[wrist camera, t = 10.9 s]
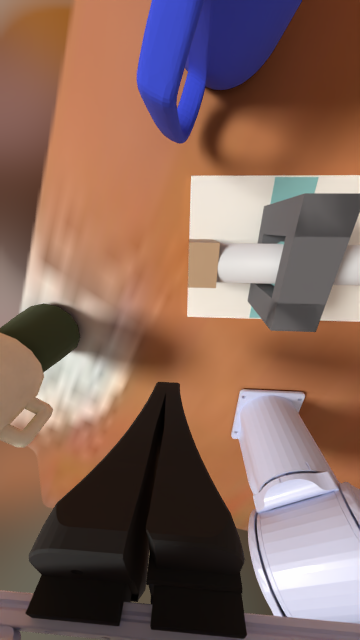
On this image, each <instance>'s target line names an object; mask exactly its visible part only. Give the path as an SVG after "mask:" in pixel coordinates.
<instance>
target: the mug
mask: <svg viewBox="0 0 360 640" xmlns="http://www.w3.org/2000/svg"><path fill="white" fill-rule="evenodd" d="M301 2H302V0H152V3H151V7H150V11H149V16H148V20H147V24H146V28H145V33H144V38H143V43H142V48H141V53H140V58H139V64H138V71H137V85H138V89H139V92H140V94H141V97H142V99H143V101H144V103H145V105H146V107H147V109H148V111H149V113H150V115H151V117H152V119H153V120H154V122H155V124H156V125H157V127H158V128H159V130H160V131H161V132H162V133H163V134H164V135H165V136H166V137H167V138H169V139H170V140H172V141H174V142H176V143H184V142H185V141H186V140H187V139H188V137H189V135H190V133H191V131H192V128H193V126H194V123H195V121H196V118H197V115H198V112H199V109H200V105H201V102H202V99H203V95H204V91H205V87H208V88H211V89H215V90H226V89H230V88H234V87H236V86H238V85H240V84H242V83H243V82H245V81H246V80H248V79H249V78H250V77H252V76H253V75H254V74H255V73H256V72H257V71H258V70H259V69H260V68H261V66H262V65H263V64H264V63H265V62H266V60H267V59H268V58H269V56H270V55H271V53H272V52H273V50H274V49H275V47H276V45H277V44H278V42H279V40H280V38H281V37H282V35H283V33H284V32H285V30H286V28H287V26H288V25H289V23H290V21H291V19H292V17H293V16H294V14H295V12H296V10H297V9H298V7H299V5H300V3H301ZM184 68H185V69H186V70H187V71H188V74H187V79H186V82H185V86H184V89H183V93H182V96H181V99H180V102H179V106H178V108H177V106H176V101H177V94H178V90H179V86H180V82H181V79H182V75H183V71H184Z"/></svg>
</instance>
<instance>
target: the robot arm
mask: <svg viewBox="0 0 360 640" xmlns="http://www.w3.org/2000/svg"><path fill="white" fill-rule="evenodd" d="M304 398H305V395H304V393H303V392H293V391H271V390H248V389H243V390H241V391H240V393H239V398H238V403H237V408H236V413H235V418H234V423H233V428H232V433H231V435H232V438H234V439H239V442H240V446H241V451H242V455H243V459H244V464H245V468H246V472H247V477H248V481H249V484H250V487H251V490H252V492H253V494H254V495H253V499H254V503H255V507H256V509H254V510H253V511H252V512H251V514H250V518H249V528H248V540H249V548H250V554H251V559H252V563H253V567H254V570H255V574H256V577H257V580H258V582H259V585H260V588H261V590H262V593H263V595H264V597H265V599H266V601H267V603H268V605H269V606H270V608H271V610H272V612H273V614H274V616H270V615H260V614H249V613H244V610H243V602H242V595H241V593H242V583H241V577H240V571H241V568H242V566H243V564H244V553H243V549H242V545H241V542H240V538H239V535H238V532H237V530H236V527H235V524H234V521H233V519H232V516H231V513H230V512H229V510H228V508H227V506H226V505H225V503H224V501H223V500H222V498H221V496H220V494H219V492H218V491H217V489H216V487H215V485H214V483H213V481H212V479H211V478H210V475H209V473H208V471H207V469H206V467H205V465H204V463H203V461H202V459H201V457H200V455H199V452H198V450H197V448H196V445H195V443H194V440H193V438H192V435H191V432H190V430H189V427H188V424H187V421H186V417H185V414H184V410H183V406H182V402H181V396H180V384H179V383H169V382H158V383H156V386H155V388H154V390H153V392H152V394H151V396H150V397H149V399H148V401H147V403H146V404H145V406H144V407H143V409H142V411H141V412H140V414H139V415H138V417H137V418H136V419H135V421H134V422H133V424H132V425H131V427H130V428H129V429H128V431H127V432H126V433H125V434H124V436H123V437H122V438H121V439H120V441H119V442H118V443H117V444H116V445H115V446H114V447H113V449H112V450H111V451H110V452H109V453H108V454H107V455H106V456H105V458H104V459H103V460H102V461H101V462H100V463H99V464H98V465H97V466H96V467H95V468H94V469H93V470H92V471H91V472H90V473H89V474H88V475H87V476H86V477H85V478H84V479H83V480H82V481H81V482H80V483H78V484H77V485H76V486H75V487H74V488H73V489H72V490H71V491H70V492H68V493H67V494H66V495H65V496H64V497H63V498H62V499H61V500H60V501H58V502H57V504H56V505H55V507H54V508H53V510H52V512H51V513H50V515H49V517H48V519H47V520H46V522H45V524H44V525H43V527H42V529H41V531H40V534H39V535H38V537H37V540H36V542H35V543H34V545H33V548H32V550H31V552H30V553H29V561H30V563H31V564H32V565H33V566H34V567H35V568H36V569H37V570H38V571H39V572H40V573H41V574H42V576H41V578H40V581H39V583H38V585H37V587H36V590H35V592H34V593H24V592H14V591H3V590H0V640H21V634H20V631H25V632H35V633H45V634H54V635H64V636H74V637H84V638H94V639H104V640H360V489H358V488H356V487H354V486H352V485H351V484H350V483H348V482H344V483H340V482H339V481H338V480H337V478H336V477H335V475H334V473H333V471H332V470H331V468H330V466H329V465H328V463H327V461H326V459H325V458H324V456H323V454H322V453H321V451H320V449H319V448H318V446H317V444H316V442H315V441H314V439H313V437H312V436H311V434H310V432H309V430H308V429H307V427H306V425H305V424H304V422H303V420H302V419H301V417H300V415H299V410H300V408H301V405H302V403H303V400H304ZM149 550H150V556H149ZM148 556H149V557H148ZM148 558H149V564H148ZM147 568H148V572H147ZM146 578H147V580H146ZM146 584H147V585H149V588H150V593H151V604H141V603H131V601H134V602H138V599H139V598H140V597H141V595H142V594H143V592H144V591H145V587H146Z"/></svg>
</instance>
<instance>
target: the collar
mask: <svg viewBox="0 0 360 640" xmlns="http://www.w3.org/2000/svg"><path fill="white" fill-rule="evenodd" d="M359 213H360V193H305V194H301V195H298V196H295V197H292V198H289V199H285V200H282V201H279V202H276V203H273V204H270V205H266V206H264V209H263V215H262V220H261V226H260V232H259V238H258V243H257V244H277V243H279V242H284V246H283V251H282V255H281V259H280V264H279V268H278V272H277V277H276V281H275V285H274V286H273V285H272V284H265V283H251V284H250V289H249V295H248V302H249V304H250V305H251V306H252V307H253V309H254V310H255V311H256V312H257V314H258V315H259V316H260V317H261V319H262V320H263V321H264V323H265V324H266V325H267V326H268V328H269V329H270V330H272V331H303V332H316V330H317V327H318V324H319V322H320V319H321V316H322V313H323V311H324V308H325V305H326V303H327V300H328V297H329V294H330V292H331V289H332V286H333V284H334V281H335V278H336V275H337V273H338V270H339V267H340V264H341V262H342V259H343V256H344V254H345V251H346V248H347V245H348V243H349V240H350V237H351V235H352V232H353V229H354V226H355V224H356V221H357V218H358V216H359Z"/></svg>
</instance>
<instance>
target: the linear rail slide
mask: <svg viewBox="0 0 360 640" xmlns="http://www.w3.org/2000/svg"><path fill="white" fill-rule="evenodd" d="M305 193H360V175H319V176H191V202H190V238H189V263H188V309H187V317H218V318H252V319H261V317H260V316H259V315H258V314H257V312H256V311H255V310H254V309H253V307H252V306H251V305H250V304H249V302H248V295H249V289H250V284H251V283H265V284H272V285H273V286H274V285H275V281H276V277H277V272H278V268H279V264H280V259H281V255H282V251H283V246H284V242H279V243H277V244H257V243H258V238H259V232H260V226H261V220H262V215H263V209H264V206H266V205H270V204H273V203H276V202H279V201H282V200H285V199H289V198H292V197H295V196H298V195H301V194H305ZM320 320H321V321H355V322H360V213H359V216H358V218H357V221H356V224H355V226H354V229H353V232H352V235H351V237H350V240H349V243H348V245H347V248H346V251H345V254H344V256H343V259H342V262H341V264H340V267H339V270H338V273H337V275H336V278H335V281H334V284H333V286H332V289H331V292H330V294H329V297H328V300H327V303H326V305H325V308H324V311H323V313H322V316H321V319H320Z"/></svg>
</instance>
